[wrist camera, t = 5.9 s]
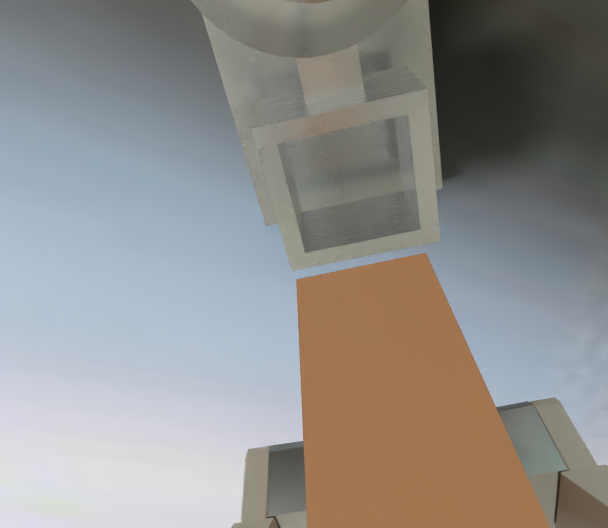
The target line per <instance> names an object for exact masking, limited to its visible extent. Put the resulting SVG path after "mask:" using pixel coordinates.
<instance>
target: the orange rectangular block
mask: <svg viewBox="0 0 608 528" xmlns="http://www.w3.org/2000/svg"><path fill="white" fill-rule="evenodd" d="M296 283H297V305H298V328H299V350H300V373H301V395H302V418H303V440H304V462H305V485H306V507H307V528H551V527H550V525H549V523H548V521H547V519H546V516H545V514H544V512H543V510H542V508H541V505H540V503H539V501H538V499H537V497H536V494H535V492H534V490H533V488H532V486H531V483H530V481H529V479H528V477H527V475H526V472H525V470H524V468H523V466H522V464H521V461H520V459H519V457H518V455H517V453H516V450H515V448H514V446H513V444H512V442H511V439H510V437H509V435H508V433H507V431H506V428H505V426H504V424H503V422H502V420H501V417H500V415H499V413H498V411H497V409H496V406H495V404H494V402H493V400H492V398H491V395H490V393H489V391H488V389H487V387H486V384H485V382H484V380H483V378H482V376H481V373H480V371H479V369H478V367H477V365H476V362H475V360H474V358H473V356H472V354H471V351H470V349H469V347H468V345H467V343H466V340H465V338H464V336H463V334H462V332H461V329H460V327H459V325H458V323H457V321H456V318H455V316H454V314H453V312H452V310H451V307H450V305H449V303H448V301H447V299H446V296H445V294H444V292H443V290H442V288H441V285H440V283H439V281H438V279H437V277H436V274H435V272H434V270H433V268H432V266H431V263H430V261H429V259H428V257H427V255H426V253H423V254H418V255H413V256H409V257H404V258H399V259H394V260H389V261H384V262H379V263H374V264H370V265H365V266H360V267H355V268H350V269H345V270H340V271H336V272H331V273H326V274H321V275H316V276H311V277H306V278H302V279H297V280H296Z"/></svg>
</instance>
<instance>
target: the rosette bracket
mask: <svg viewBox="0 0 608 528" xmlns="http://www.w3.org/2000/svg"><path fill="white" fill-rule="evenodd" d="M191 1H192V2H193V4H194V5H195V6H196V7H197V8H198V10H199V11H200V12H201V13H202V15H203V18H204V22H205V25H206V28H207V31H208V35H209V38H210V41H211V45H212V48H213V51H214V55H215V58H216V61H217V65H218V68H219V71H220V75H221V78H222V81H223V85H224V88H225V91H226V95H227V98H228V101H229V105H230V108H231V111H232V115H233V118H234V121H235V125H236V128H237V131H238V135H239V138H240V141H241V145H242V148H243V151H244V155H245V158H246V161H247V165H248V168H249V171H250V175H251V178H252V181H253V185H254V188H255V191H256V195H257V198H258V201H259V205H260V208H261V211H262V214H263V218H264V221H265V224H266V226H268V225H272V224H277V223H278V224H279V228H280V231H281V235H282V238H283V242H284V245H285V249H286V252H287V256H288V259H289V263H290V266H291V270H292V271H294V270H299V269H304V268H309V267H314V266H319V265H324V264H329V263H334V262H339V261H344V260H349V259H354V258H359V257H364V256H369V255H374V254H379V253H384V252H389V251H394V250H399V249H404V248H409V247H414V246H419V245H424V244H429V243H434V242H439V241H440V231H439V220H438V208H437V196H436V190H439V189H443V186H442V173H441V160H440V147H439V134H438V121H437V108H436V96H435V83H434V70H433V57H432V44H431V31H430V18H429V5H428V0H191Z"/></svg>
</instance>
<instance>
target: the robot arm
mask: <svg viewBox="0 0 608 528" xmlns="http://www.w3.org/2000/svg"><path fill="white" fill-rule="evenodd" d="M496 409H497V411H498V413H499V415H500V417H501V420H502V422H503V424H504V426H505V428H506V431H507V433H508V435H509V437H510V439H511V442H512V444H513V446H514V448H515V450H516V453H517V455H518V457H519V459H520V461H521V464H522V466H523V468H524V470H525V472H526V475H527V477H528V479H529V481H530V483H531V486H532V488H533V490H534V492H535V494H536V497H537V499H538V501H539V503H540V505H541V508H542V510H543V512H544V514H545V516H546V519H547V521H548V523H549V525H550V526H555V528H608V466H606V465H603V466H598V465H597V464H596V462H595V460H594V459H593V457H592V455H591V454H590V452H589V450H588V448H587V447H586V445H585V443H584V442H583V440H582V438H581V437H580V435H579V433H578V432H577V430H576V428H575V426H574V425H573V423H572V421H571V420H570V418H569V416H568V415H567V413H566V411H565V410H564V408H563V406H562V405H561V403H560V401H559V400H557V399H556V398H548V399H542V400H537V401H532V402H528V401H527V402H522V403H517V404H511V405H506V406H500V407H496ZM231 528H307V507H306V485H305V462H304V441H300V442H293V443H286V444H279V445H272V446H266V447H259V448H253V449H248V452H247V455H246V459H245V472H244V485H243V499H242V512H241V520H240V521H238V522H237V523H234V524H233V526H232V527H231Z"/></svg>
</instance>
